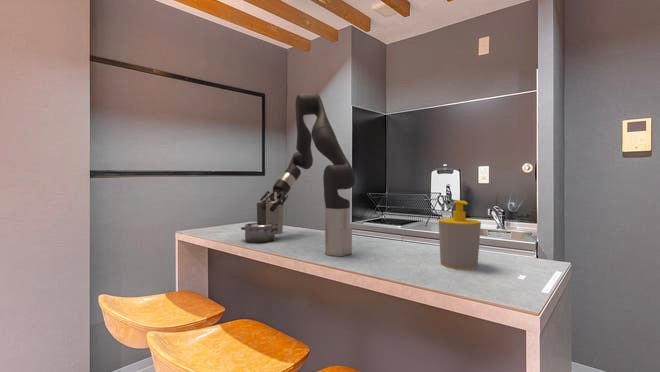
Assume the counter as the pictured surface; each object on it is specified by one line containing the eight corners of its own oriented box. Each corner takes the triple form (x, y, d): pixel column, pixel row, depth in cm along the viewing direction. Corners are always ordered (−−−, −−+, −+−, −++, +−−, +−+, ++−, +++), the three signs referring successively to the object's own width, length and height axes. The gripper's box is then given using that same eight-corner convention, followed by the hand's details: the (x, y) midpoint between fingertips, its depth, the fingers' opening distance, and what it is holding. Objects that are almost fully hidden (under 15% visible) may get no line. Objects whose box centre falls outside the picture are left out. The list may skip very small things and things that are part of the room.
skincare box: (262, 233, 172) (262, 202, 172) (269, 231, 179) (269, 201, 179) (278, 234, 170) (277, 202, 169) (284, 232, 177) (284, 201, 176)
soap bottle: (453, 271, 105) (454, 202, 104) (430, 261, 118) (430, 199, 117) (489, 268, 109) (490, 201, 108) (462, 258, 121) (463, 198, 120)
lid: (276, 226, 155) (275, 202, 154) (259, 229, 148) (258, 203, 148) (263, 224, 161) (263, 201, 161) (247, 227, 154) (246, 202, 154)
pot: (283, 238, 158) (283, 223, 158) (272, 244, 146) (272, 227, 146) (248, 237, 162) (248, 222, 162) (235, 242, 150) (235, 226, 149)
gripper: (270, 178, 167) (250, 203, 159) (290, 178, 157) (270, 205, 149) (279, 188, 171) (260, 213, 163) (298, 190, 161) (279, 216, 153)
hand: (265, 209), depth 156 cm, fingers open, 8 cm apart
